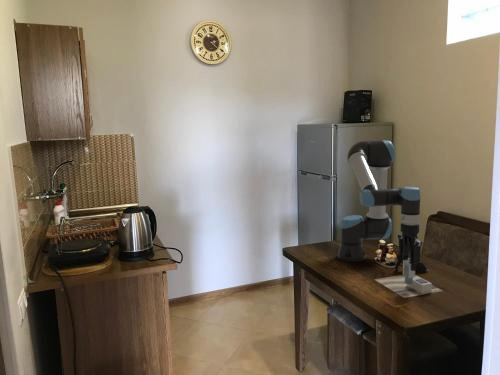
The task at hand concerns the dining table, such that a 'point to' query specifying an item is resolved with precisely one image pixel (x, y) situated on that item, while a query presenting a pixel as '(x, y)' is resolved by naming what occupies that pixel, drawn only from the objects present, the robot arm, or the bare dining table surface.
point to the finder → (421, 285)
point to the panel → (401, 286)
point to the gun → (419, 266)
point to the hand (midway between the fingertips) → (408, 275)
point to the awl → (407, 279)
